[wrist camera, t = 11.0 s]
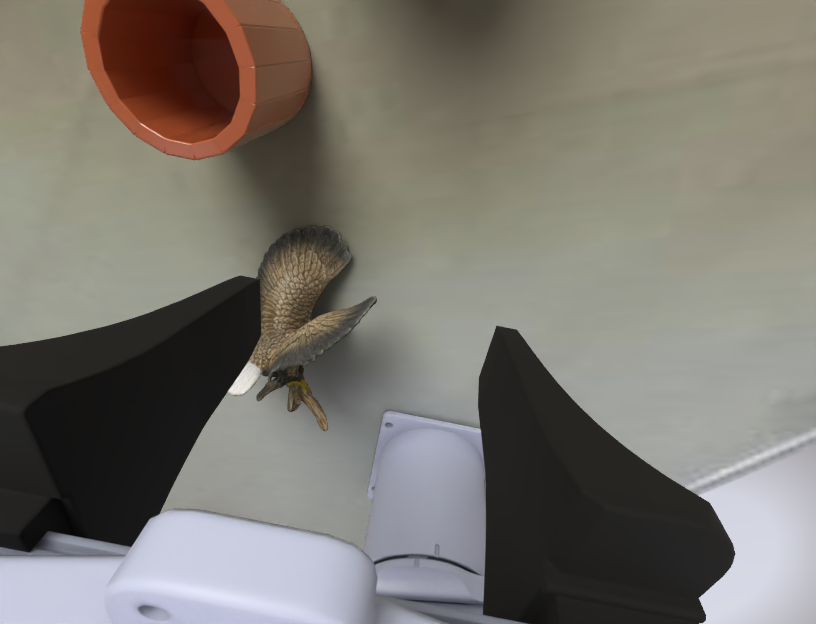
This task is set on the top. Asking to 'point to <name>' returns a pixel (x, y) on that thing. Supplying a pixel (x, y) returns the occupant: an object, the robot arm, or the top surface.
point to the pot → (197, 69)
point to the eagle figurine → (298, 314)
